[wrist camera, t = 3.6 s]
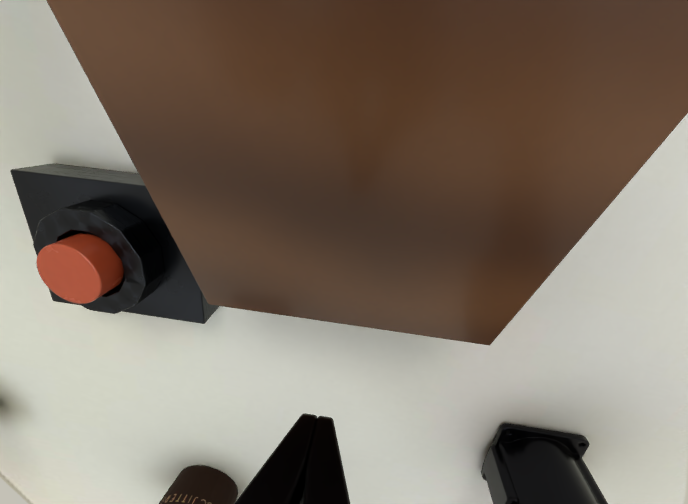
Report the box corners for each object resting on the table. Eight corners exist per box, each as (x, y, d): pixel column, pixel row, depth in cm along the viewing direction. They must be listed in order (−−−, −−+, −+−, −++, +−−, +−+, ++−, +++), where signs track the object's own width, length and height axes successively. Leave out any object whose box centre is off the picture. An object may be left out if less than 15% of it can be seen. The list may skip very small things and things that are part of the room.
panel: (214, 182, 20) (170, 199, 16) (223, 302, 24) (189, 342, 20) (53, 163, 21) (-28, 174, 17) (85, 282, 25) (25, 316, 20)
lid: (-25, -210, 5) (-73, -220, 5) (885, -183, 4) (951, -193, 4) (214, 291, 16) (208, 304, 16) (487, 330, 15) (490, 345, 15)
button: (118, 237, 18) (91, 249, 16) (129, 292, 19) (106, 308, 18) (58, 229, 18) (26, 240, 16) (74, 284, 19) (46, 299, 18)
